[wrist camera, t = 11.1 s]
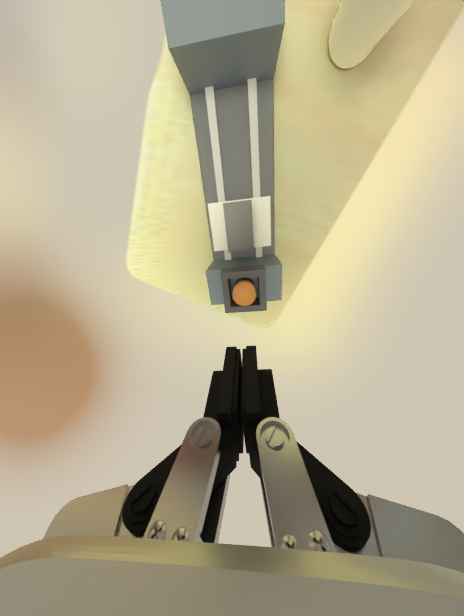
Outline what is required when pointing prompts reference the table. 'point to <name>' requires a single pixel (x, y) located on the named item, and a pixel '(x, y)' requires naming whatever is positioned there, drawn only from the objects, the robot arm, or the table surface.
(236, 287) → the button
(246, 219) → the carriage
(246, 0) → the rail track
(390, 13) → the drinking glass
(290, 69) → the table surface
